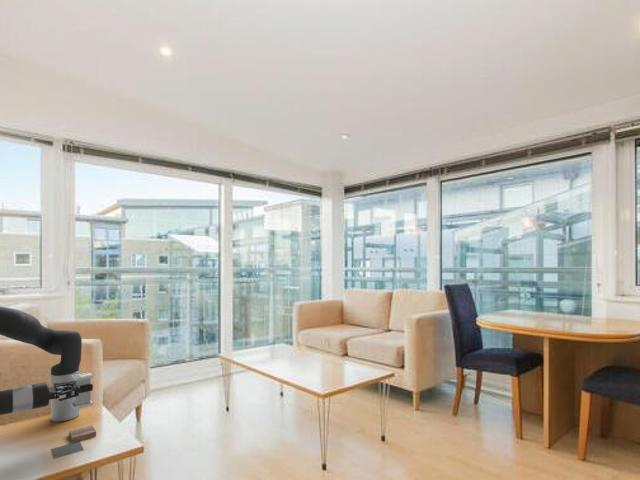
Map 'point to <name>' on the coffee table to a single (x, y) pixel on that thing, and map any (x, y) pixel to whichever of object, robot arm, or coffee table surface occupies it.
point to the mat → (66, 449)
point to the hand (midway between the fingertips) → (90, 385)
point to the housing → (84, 397)
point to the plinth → (82, 433)
